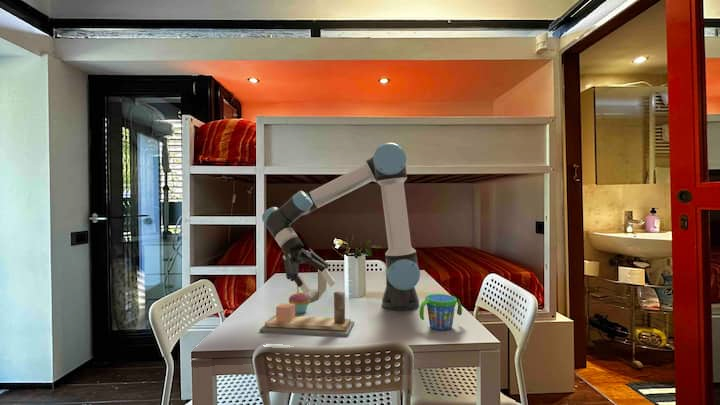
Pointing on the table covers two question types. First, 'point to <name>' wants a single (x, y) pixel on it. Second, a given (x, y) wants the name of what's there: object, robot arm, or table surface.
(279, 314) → the cube
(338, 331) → the lane board
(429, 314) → the snack cup
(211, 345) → the table surface
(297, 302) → the cupcake
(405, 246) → the robot arm
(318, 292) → the laptop
